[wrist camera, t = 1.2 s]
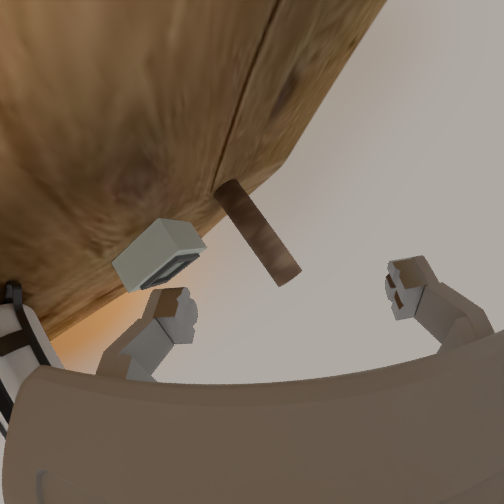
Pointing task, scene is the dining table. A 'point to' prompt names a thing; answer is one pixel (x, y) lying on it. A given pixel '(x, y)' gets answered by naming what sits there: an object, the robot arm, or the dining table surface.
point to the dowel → (257, 232)
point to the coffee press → (19, 349)
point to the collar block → (158, 254)
